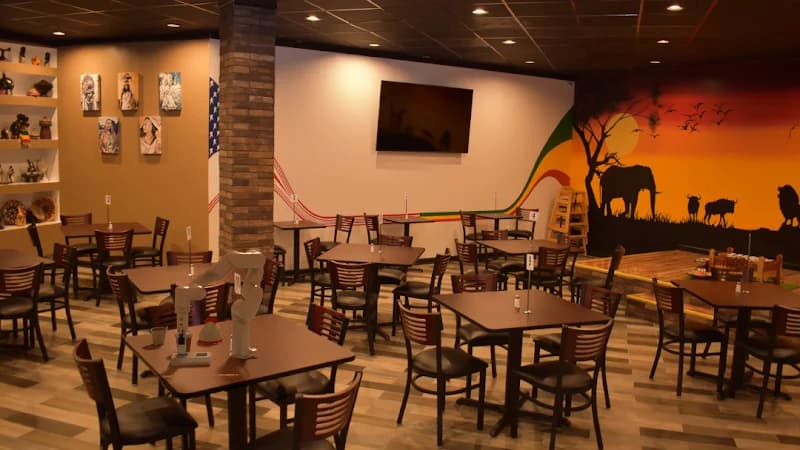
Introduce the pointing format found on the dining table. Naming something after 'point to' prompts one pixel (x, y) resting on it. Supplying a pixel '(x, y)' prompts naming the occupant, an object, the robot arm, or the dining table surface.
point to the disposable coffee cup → (187, 340)
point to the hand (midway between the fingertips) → (181, 343)
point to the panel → (191, 358)
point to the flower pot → (158, 335)
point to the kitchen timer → (210, 332)
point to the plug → (181, 347)
